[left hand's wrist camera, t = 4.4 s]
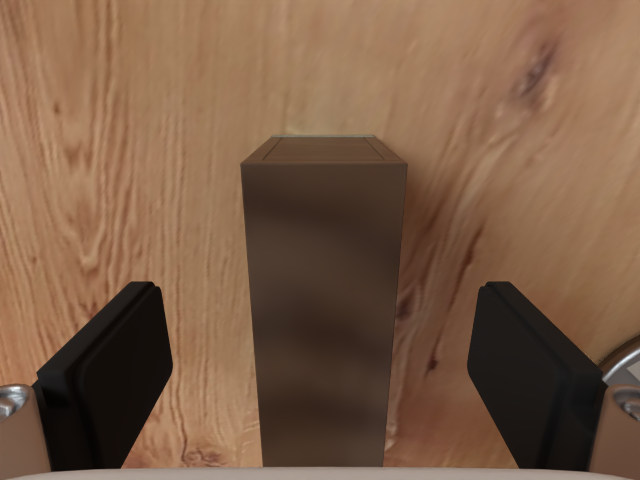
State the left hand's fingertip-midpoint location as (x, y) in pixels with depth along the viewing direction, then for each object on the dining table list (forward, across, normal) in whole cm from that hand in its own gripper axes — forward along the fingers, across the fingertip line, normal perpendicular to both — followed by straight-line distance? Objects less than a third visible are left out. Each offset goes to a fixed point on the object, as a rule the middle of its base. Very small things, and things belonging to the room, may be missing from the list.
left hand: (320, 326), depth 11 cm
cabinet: (+16, 0, -4) cm, 17 cm away
